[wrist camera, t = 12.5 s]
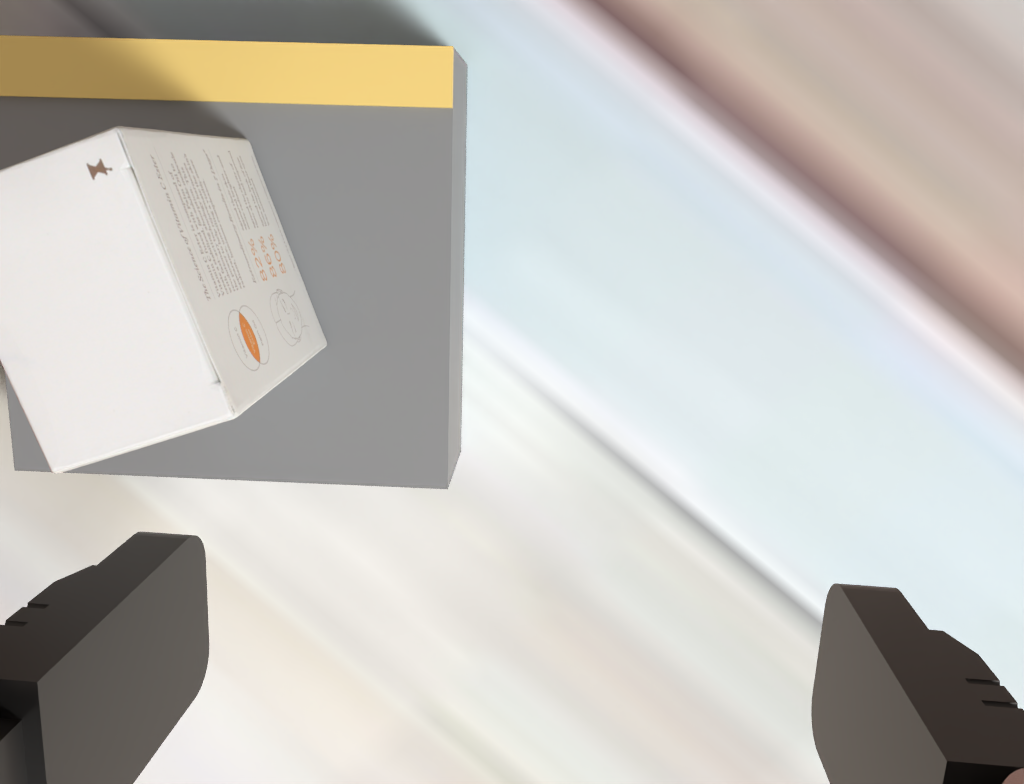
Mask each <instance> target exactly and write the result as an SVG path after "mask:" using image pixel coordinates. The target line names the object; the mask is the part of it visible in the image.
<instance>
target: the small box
mask: <svg viewBox="0 0 1024 784" xmlns="http://www.w3.org/2000/svg"><path fill="white" fill-rule="evenodd" d="M326 346H327V341H326V339H325V336H324V334H323V332H322V329H321V326H320V324H319V321H318V319H317V316H316V314H315V311H314V308H313V306H312V303H311V301H310V298H309V296H308V293H307V291H306V288H305V285H304V282H303V280H302V278H301V275H300V272H299V270H298V267H297V264H296V262H295V259H294V257H293V254H292V252H291V249H290V246H289V244H288V241H287V238H286V236H285V233H284V231H283V228H282V225H281V223H280V220H279V217H278V215H277V212H276V210H275V207H274V205H273V202H272V200H271V197H270V195H269V192H268V190H267V187H266V184H265V182H264V179H263V176H262V174H261V171H260V169H259V166H258V163H257V161H256V158H255V155H254V153H253V150H252V146H251V144H250V142H249V141H248V140H247V139H243V138H232V137H220V136H210V135H198V134H190V133H182V132H172V131H164V130H156V129H145V128H133V127H124V126H116V127H113V128H110V129H108V130H105V131H102V132H100V133H97V134H94V135H92V136H89V137H86V138H84V139H81V140H78V141H76V142H73V143H70V144H68V145H65V146H63V147H60V148H57V149H55V150H52V151H49V152H47V153H44V154H41V155H39V156H36V157H34V158H31V159H28V160H25V161H23V162H20V163H17V164H15V165H12V166H9V167H7V168H4V169H1V170H0V362H1V364H2V366H3V368H4V370H5V373H6V375H7V377H8V379H9V381H10V383H11V385H12V388H13V390H14V392H15V394H16V396H17V398H18V401H19V403H20V405H21V407H22V409H23V411H24V413H25V415H26V418H27V420H28V422H29V424H30V426H31V428H32V431H33V433H34V435H35V437H36V439H37V442H38V444H39V446H40V448H41V450H42V452H43V454H44V457H45V459H46V461H47V463H48V465H49V468H50V470H51V472H52V473H57V474H58V473H62V472H65V471H68V470H72V469H75V468H78V467H81V466H85V465H88V464H91V463H95V462H98V461H101V460H104V459H108V458H111V457H114V456H117V455H120V454H124V453H127V452H130V451H133V450H137V449H140V448H143V447H146V446H149V445H153V444H156V443H159V442H162V441H165V440H169V439H172V438H175V437H178V436H182V435H185V434H188V433H191V432H194V431H197V430H201V429H204V428H207V427H210V426H213V425H216V424H219V423H222V422H226V421H229V420H232V419H235V418H237V417H238V416H239V415H240V414H242V413H243V412H244V411H245V410H247V409H248V408H249V407H250V406H251V405H253V404H254V403H255V402H257V401H258V400H259V399H260V398H262V397H263V396H264V395H266V394H267V393H268V392H269V391H270V390H272V389H273V388H274V387H276V386H277V385H278V384H279V383H281V382H282V381H283V380H285V379H286V378H287V377H288V376H290V375H291V374H292V373H293V372H295V371H296V370H297V369H298V368H299V367H301V366H302V365H303V364H305V363H306V362H307V361H308V360H309V359H311V358H312V357H313V356H315V355H316V354H317V353H318V352H319V351H321V350H322V349H323V348H325V347H326Z"/></svg>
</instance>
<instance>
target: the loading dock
mask: <svg viewBox="0 0 1024 784" xmlns="http://www.w3.org/2000/svg"><path fill="white" fill-rule="evenodd" d="M466 115H467V64H466V63H465V61H464V60H463V59H462V58H461V56H460V55H459V54H458V52H457V51H456V50H455V49H454V47H453V46H419V45H378V44H337V43H296V42H254V41H213V40H172V39H131V38H90V37H48V36H7V35H0V170H1V169H4V168H7V167H9V166H12V165H15V164H17V163H20V162H23V161H25V160H28V159H31V158H34V157H36V156H39V155H41V154H44V153H47V152H49V151H52V150H55V149H57V148H60V147H63V146H65V145H68V144H70V143H73V142H76V141H78V140H81V139H84V138H86V137H89V136H92V135H94V134H97V133H100V132H102V131H105V130H108V129H110V128H113V127H116V126H124V127H133V128H145V129H156V130H164V131H172V132H182V133H190V134H198V135H210V136H220V137H232V138H243V139H247V140H248V141H249V142H250V144H251V146H252V150H253V153H254V155H255V158H256V161H257V163H258V166H259V169H260V171H261V174H262V176H263V179H264V182H265V184H266V187H267V190H268V192H269V195H270V197H271V200H272V202H273V205H274V207H275V210H276V212H277V215H278V217H279V220H280V223H281V225H282V228H283V231H284V233H285V236H286V238H287V241H288V244H289V246H290V249H291V252H292V254H293V257H294V259H295V262H296V264H297V267H298V270H299V272H300V275H301V278H302V280H303V282H304V285H305V288H306V291H307V293H308V296H309V298H310V301H311V303H312V306H313V308H314V311H315V314H316V316H317V319H318V321H319V324H320V326H321V329H322V332H323V334H324V336H325V339H326V341H327V346H326V347H325V348H323V349H322V350H321V351H319V352H318V353H317V354H316V355H315V356H313V357H312V358H311V359H309V360H308V361H307V362H306V363H305V364H303V365H302V366H301V367H299V368H298V369H297V370H296V371H295V372H293V373H292V374H291V375H290V376H288V377H287V378H286V379H285V380H283V381H282V382H281V383H279V384H278V385H277V386H276V387H274V388H273V389H272V390H270V391H269V392H268V393H267V394H266V395H264V396H263V397H262V398H260V399H259V400H258V401H257V402H255V403H254V404H253V405H251V406H250V407H249V408H248V409H247V410H245V411H244V412H243V413H242V414H240V415H239V416H238V417H237V418H235V419H232V420H229V421H226V422H222V423H219V424H216V425H213V426H210V427H207V428H204V429H201V430H197V431H194V432H191V433H188V434H185V435H182V436H178V437H175V438H172V439H169V440H165V441H162V442H159V443H156V444H153V445H149V446H146V447H143V448H140V449H137V450H133V451H130V452H127V453H124V454H120V455H117V456H114V457H111V458H108V459H104V460H101V461H98V462H95V463H91V464H88V465H85V466H81V467H78V468H75V469H72V470H68V471H65V472H63V473H86V474H109V475H132V476H156V477H179V478H202V479H225V480H249V481H272V482H295V483H318V484H342V485H365V486H388V487H411V488H435V489H448V487H449V484H450V481H451V478H452V475H453V472H454V469H455V467H456V464H457V461H458V458H459V455H460V452H461V412H462V352H463V293H464V233H465V174H466ZM5 378H6V388H7V398H8V408H9V418H10V428H11V438H12V448H13V458H14V468H15V470H16V471H39V472H51V470H50V468H49V465H48V463H47V461H46V459H45V457H44V454H43V452H42V450H41V448H40V446H39V444H38V442H37V439H36V437H35V435H34V433H33V431H32V428H31V426H30V424H29V422H28V420H27V418H26V415H25V413H24V411H23V409H22V407H21V405H20V403H19V401H18V398H17V396H16V394H15V392H14V390H13V388H12V385H11V383H10V381H9V379H8V377H7V375H6V373H5Z"/></svg>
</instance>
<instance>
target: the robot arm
mask: <svg viewBox="0 0 1024 784" xmlns="http://www.w3.org/2000/svg"><path fill="white" fill-rule="evenodd" d="M208 657H209V630H208V605H207V581H206V558H205V550H204V546H203V543H202V541H201V539H200V538H199V537H198V536H194V535H180V534H166V533H152V532H138V533H136V534H134V535H133V536H132V537H131V538H129V539H128V540H127V541H126V542H125V543H123V544H122V545H121V546H120V547H119V548H117V549H116V550H115V551H114V552H113V553H111V554H110V555H109V556H108V557H106V558H105V559H104V560H103V561H102V562H100V563H99V564H98V565H97V566H96V565H92V566H90V567H87V568H85V569H83V570H81V571H78V572H76V573H74V574H71V575H69V576H67V577H65V578H62V579H60V580H58V581H55V582H54V583H52V584H51V585H50V586H49V587H47V588H46V589H45V590H44V591H42V592H41V593H40V594H38V595H37V596H36V597H35V598H33V599H32V600H31V601H30V602H28V606H27V607H22V608H21V609H20V610H18V611H17V612H16V613H15V614H13V615H12V616H11V617H9V618H8V619H7V620H6V623H5V625H0V784H133V783H134V782H135V780H136V779H137V778H138V776H139V775H140V773H141V772H142V771H143V769H144V768H145V766H146V765H147V764H148V762H149V761H150V760H151V758H152V757H153V755H154V754H155V753H156V751H157V750H158V749H159V747H160V746H161V744H162V743H163V742H164V740H165V739H166V737H167V736H168V735H169V733H170V732H171V731H172V729H173V728H174V726H175V725H176V724H177V722H178V721H179V720H180V718H181V717H182V715H183V714H184V713H185V711H186V710H187V708H188V707H189V706H190V704H191V703H192V702H193V700H194V699H195V697H196V696H197V694H198V692H199V690H200V688H201V686H202V683H203V680H204V677H205V673H206V669H207V664H208ZM812 729H813V736H814V741H815V745H816V749H817V752H818V754H819V757H820V759H821V762H822V764H823V767H824V769H825V772H826V774H827V777H828V779H829V782H830V784H1024V710H1023V709H1019V708H1018V707H1017V702H1016V701H1015V699H1014V698H1013V697H1012V696H1011V694H1010V693H1009V692H1008V691H1007V689H1006V688H1005V687H1004V686H1000V681H999V679H998V678H997V677H996V676H995V674H994V673H993V672H992V671H991V670H990V668H989V667H988V666H987V665H986V663H985V662H984V661H983V660H982V658H981V657H980V656H979V655H978V654H977V653H975V652H974V651H972V650H971V649H969V648H968V647H966V646H965V645H963V644H962V643H960V642H959V641H957V640H956V639H954V638H953V637H951V636H950V635H948V634H947V633H945V632H944V631H938V630H929V629H928V628H927V627H926V625H925V624H924V623H923V621H922V620H921V619H920V617H919V616H918V615H917V613H916V612H915V610H914V609H913V608H912V606H911V605H910V604H909V602H908V601H907V600H906V598H905V597H904V596H903V594H902V593H901V592H900V591H899V590H898V589H897V588H889V587H875V586H862V585H848V584H833V585H832V586H831V588H830V590H829V592H828V595H827V599H826V604H825V610H824V617H823V624H822V631H821V638H820V645H819V653H818V660H817V667H816V674H815V681H814V688H813V696H812Z"/></svg>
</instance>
